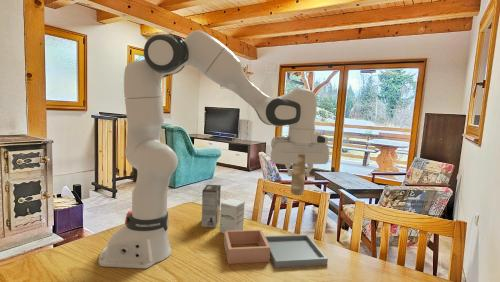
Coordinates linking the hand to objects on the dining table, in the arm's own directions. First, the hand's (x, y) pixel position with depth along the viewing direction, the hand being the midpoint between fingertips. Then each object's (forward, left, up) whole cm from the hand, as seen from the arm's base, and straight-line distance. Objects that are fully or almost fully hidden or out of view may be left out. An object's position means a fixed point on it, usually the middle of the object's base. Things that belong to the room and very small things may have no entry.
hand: (298, 176), depth 101 cm
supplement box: (-20, +19, -28) cm, 40 cm away
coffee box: (-28, +28, -28) cm, 49 cm away
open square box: (-17, +2, -28) cm, 33 cm away
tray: (0, 0, -28) cm, 28 cm away
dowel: (0, 0, -6) cm, 6 cm away
